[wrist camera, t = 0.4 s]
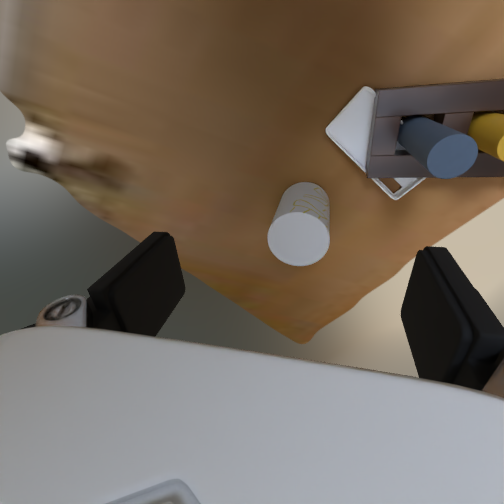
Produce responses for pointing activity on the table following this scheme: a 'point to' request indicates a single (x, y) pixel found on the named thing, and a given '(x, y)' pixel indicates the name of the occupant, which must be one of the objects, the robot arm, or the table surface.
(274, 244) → the cup
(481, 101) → the stand
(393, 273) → the table surface
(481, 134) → the mustard peg
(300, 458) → the robot arm
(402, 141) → the blue peg
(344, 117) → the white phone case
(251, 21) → the table surface
